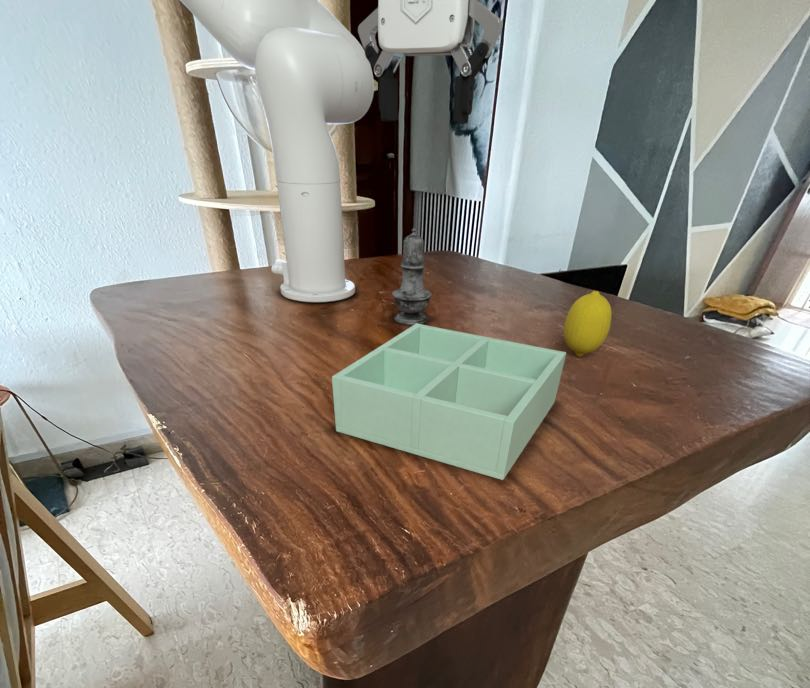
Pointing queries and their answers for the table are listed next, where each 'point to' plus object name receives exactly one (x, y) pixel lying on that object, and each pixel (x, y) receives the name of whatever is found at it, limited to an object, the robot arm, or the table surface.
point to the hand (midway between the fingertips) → (423, 122)
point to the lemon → (587, 323)
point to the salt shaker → (412, 283)
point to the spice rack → (449, 397)
